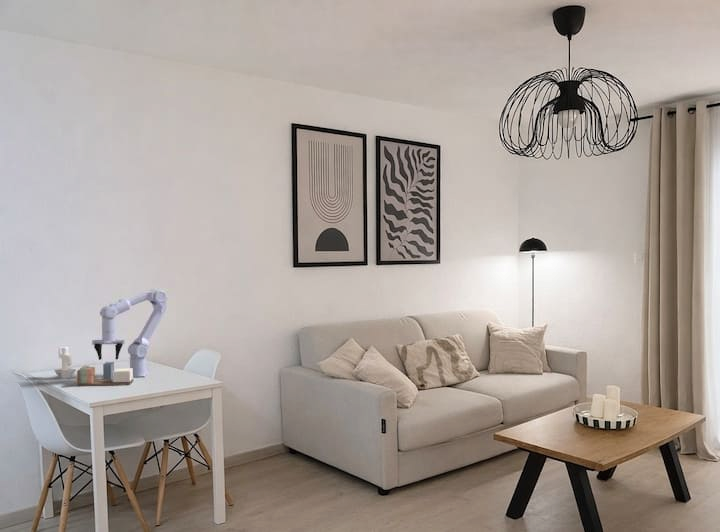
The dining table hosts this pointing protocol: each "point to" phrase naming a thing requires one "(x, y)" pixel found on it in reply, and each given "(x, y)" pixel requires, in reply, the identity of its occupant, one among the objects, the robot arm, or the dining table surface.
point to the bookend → (123, 375)
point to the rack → (88, 378)
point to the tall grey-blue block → (108, 370)
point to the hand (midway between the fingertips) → (108, 359)
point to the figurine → (65, 364)
